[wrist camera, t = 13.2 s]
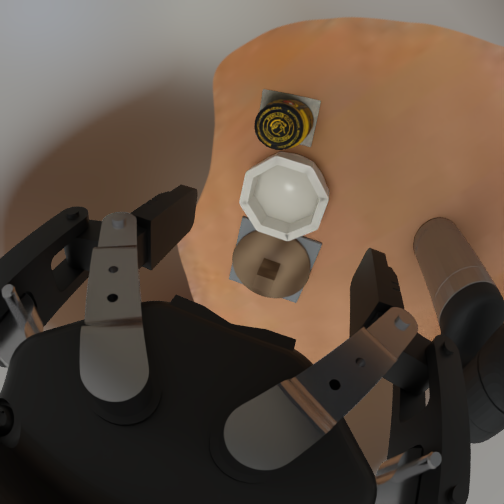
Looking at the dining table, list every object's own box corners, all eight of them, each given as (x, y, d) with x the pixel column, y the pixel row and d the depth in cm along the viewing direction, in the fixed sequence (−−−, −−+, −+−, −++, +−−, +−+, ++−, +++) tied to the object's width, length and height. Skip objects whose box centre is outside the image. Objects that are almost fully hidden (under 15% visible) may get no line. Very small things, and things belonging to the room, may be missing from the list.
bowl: (336, 167, 38) (337, 175, 34) (312, 234, 44) (309, 249, 40) (260, 143, 39) (251, 148, 35) (244, 210, 46) (234, 223, 42)
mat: (321, 242, 45) (321, 244, 44) (296, 300, 53) (296, 302, 52) (243, 216, 46) (242, 217, 46) (230, 277, 54) (229, 279, 54)
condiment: (310, 147, 37) (302, 164, 28) (255, 134, 39) (227, 148, 29) (321, 100, 33) (316, 99, 23) (263, 89, 34) (236, 85, 25)
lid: (322, 245, 44) (319, 266, 39) (295, 303, 52) (289, 326, 47) (243, 217, 46) (230, 233, 41) (228, 278, 54) (216, 298, 49)
